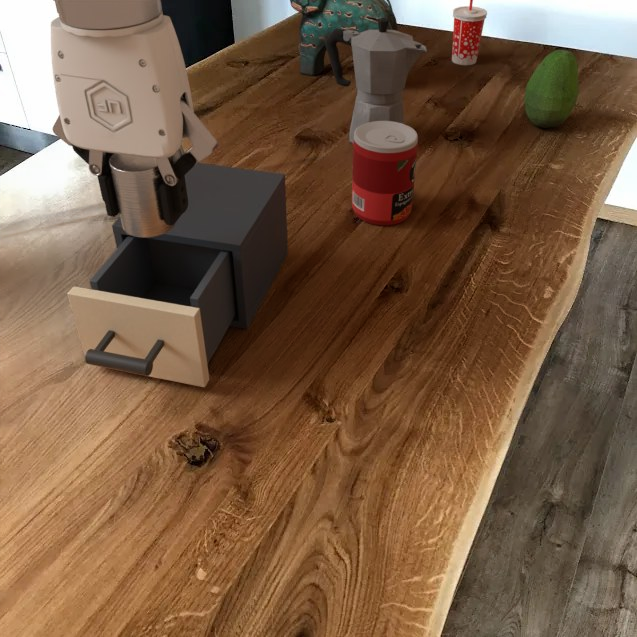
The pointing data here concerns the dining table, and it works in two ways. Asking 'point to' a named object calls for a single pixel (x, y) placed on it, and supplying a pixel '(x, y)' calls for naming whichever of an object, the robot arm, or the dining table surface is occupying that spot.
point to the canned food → (383, 172)
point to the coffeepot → (376, 71)
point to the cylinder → (138, 195)
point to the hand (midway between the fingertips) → (147, 211)
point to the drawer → (157, 309)
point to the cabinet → (234, 227)
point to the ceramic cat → (335, 25)
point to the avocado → (552, 89)
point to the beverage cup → (467, 33)
